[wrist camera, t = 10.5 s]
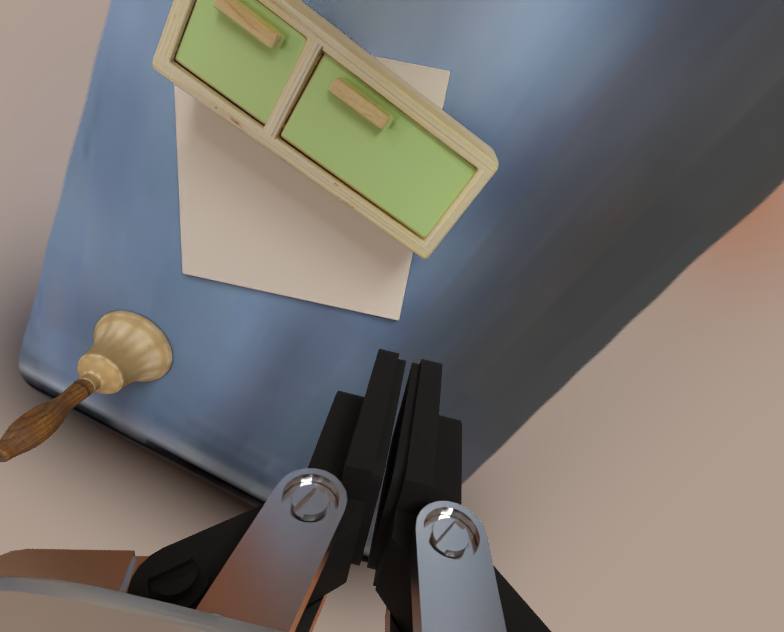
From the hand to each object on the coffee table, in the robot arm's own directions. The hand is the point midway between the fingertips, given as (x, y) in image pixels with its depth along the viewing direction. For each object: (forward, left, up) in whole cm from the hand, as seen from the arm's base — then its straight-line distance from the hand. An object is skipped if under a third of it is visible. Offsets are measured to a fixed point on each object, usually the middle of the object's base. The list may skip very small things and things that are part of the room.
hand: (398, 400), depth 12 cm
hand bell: (+23, -27, -28) cm, 45 cm away
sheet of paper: (+3, -11, -28) cm, 30 cm away
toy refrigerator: (+1, +2, -23) cm, 23 cm away
